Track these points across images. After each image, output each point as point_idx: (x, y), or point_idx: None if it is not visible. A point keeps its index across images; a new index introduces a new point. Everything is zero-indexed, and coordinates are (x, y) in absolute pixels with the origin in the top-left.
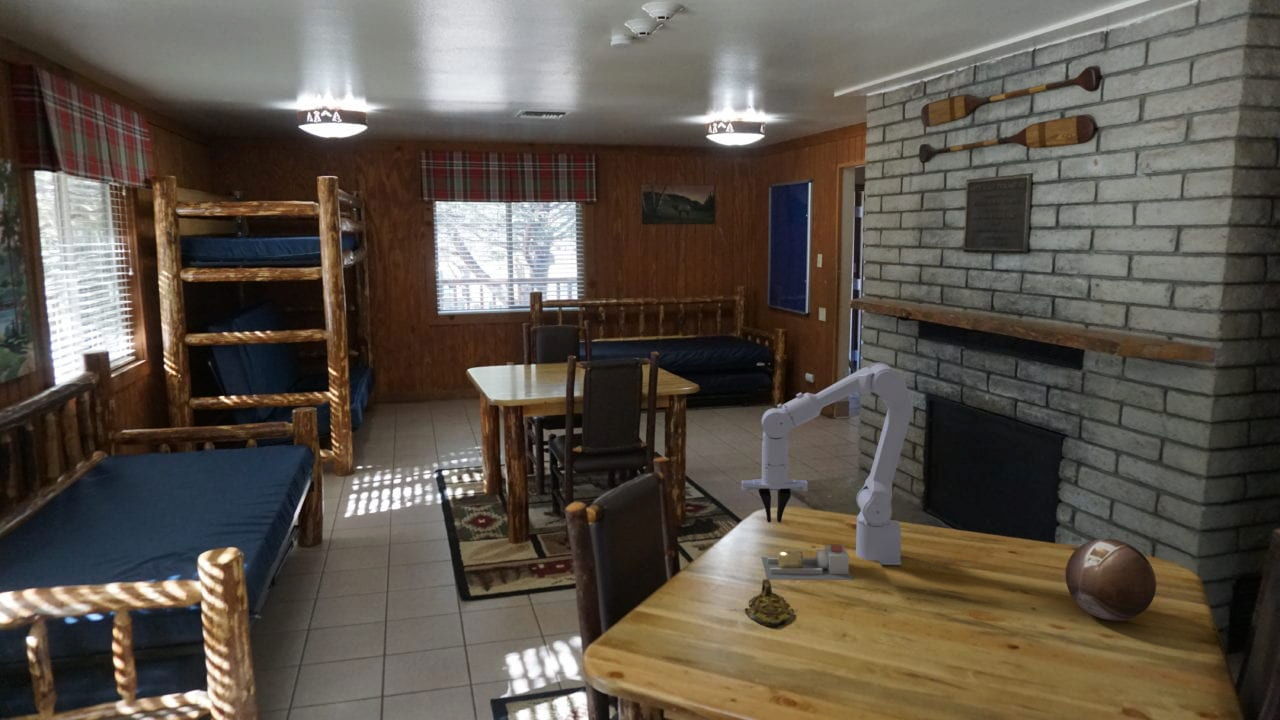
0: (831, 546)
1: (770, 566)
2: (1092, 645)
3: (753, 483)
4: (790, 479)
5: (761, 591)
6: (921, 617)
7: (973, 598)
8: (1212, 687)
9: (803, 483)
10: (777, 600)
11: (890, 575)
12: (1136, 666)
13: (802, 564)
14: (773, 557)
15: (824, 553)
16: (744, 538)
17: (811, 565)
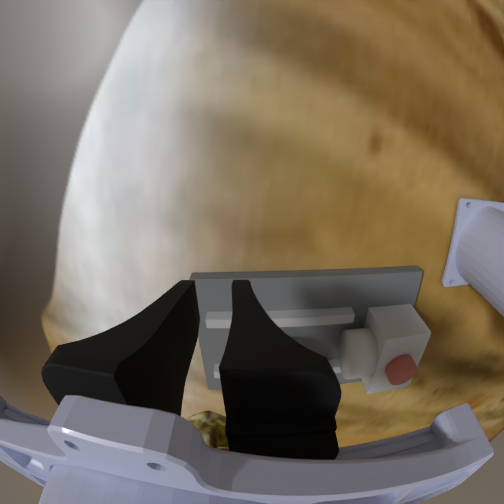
0: (389, 379)
1: (216, 336)
2: (495, 416)
3: (43, 486)
4: (381, 493)
5: (200, 423)
6: (415, 426)
7: (497, 369)
8: (498, 432)
9: (429, 497)
10: (227, 448)
11: (465, 322)
12: (490, 429)
13: None
14: (226, 280)
15: (362, 377)
16: (139, 76)
17: (329, 325)
